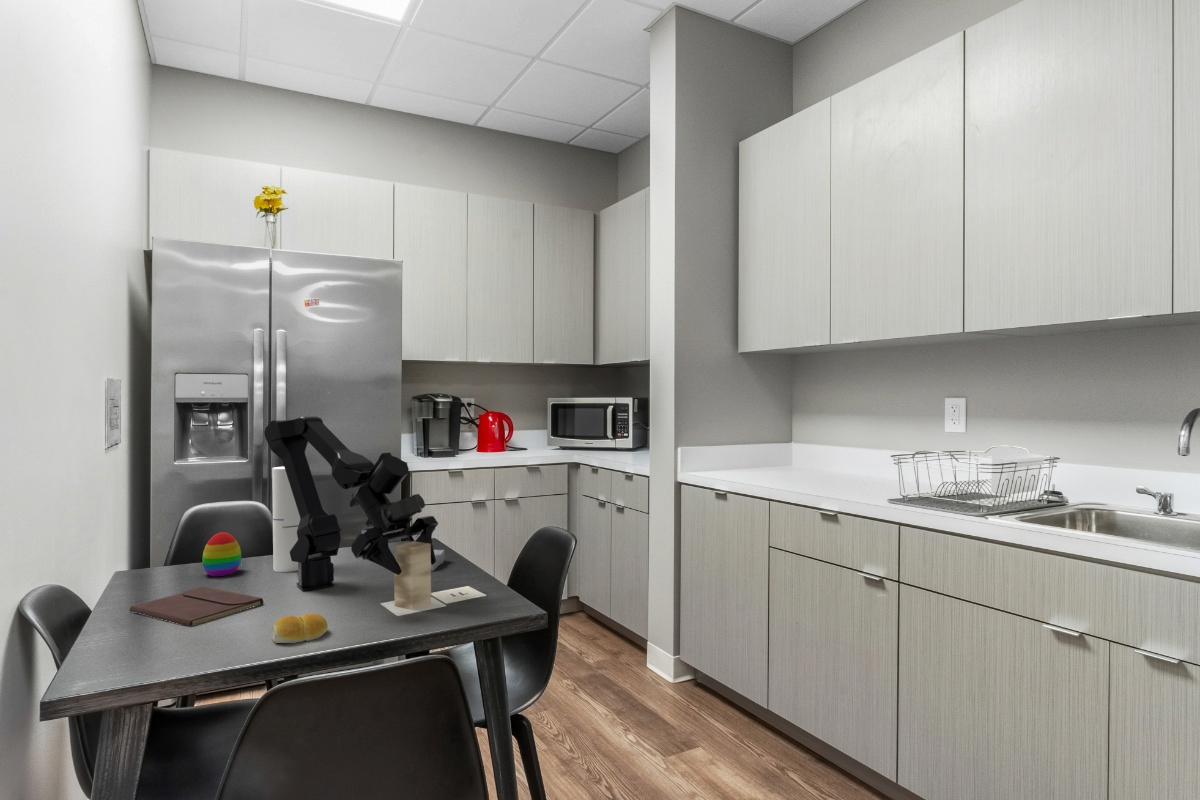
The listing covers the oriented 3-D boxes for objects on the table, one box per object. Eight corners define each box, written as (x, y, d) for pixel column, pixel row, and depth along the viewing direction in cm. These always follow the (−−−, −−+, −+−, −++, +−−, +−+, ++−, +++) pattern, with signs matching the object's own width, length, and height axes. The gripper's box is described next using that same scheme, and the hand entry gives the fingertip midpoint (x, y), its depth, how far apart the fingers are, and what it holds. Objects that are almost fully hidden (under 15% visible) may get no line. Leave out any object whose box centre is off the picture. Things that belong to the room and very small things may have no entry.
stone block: (395, 581, 160) (436, 572, 160) (391, 561, 160) (432, 552, 160) (410, 570, 172) (448, 562, 172) (407, 551, 172) (444, 543, 172)
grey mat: (397, 617, 127) (397, 616, 127) (380, 604, 135) (380, 603, 135) (446, 607, 133) (446, 605, 133) (427, 595, 141) (427, 594, 141)
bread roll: (332, 638, 117) (331, 615, 117) (275, 649, 112) (275, 625, 112) (322, 625, 124) (321, 603, 124) (268, 635, 119) (268, 612, 119)
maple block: (394, 606, 133) (393, 546, 133) (413, 599, 137) (412, 541, 137) (412, 610, 131) (412, 548, 131) (431, 603, 135) (430, 543, 135)
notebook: (189, 629, 123) (189, 618, 123) (129, 614, 132) (129, 604, 132) (263, 606, 136) (263, 596, 136) (204, 594, 146) (204, 585, 146)
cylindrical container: (284, 564, 170) (283, 465, 170) (311, 565, 169) (309, 466, 169) (267, 571, 163) (265, 468, 163) (294, 572, 162) (293, 469, 162)
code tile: (446, 605, 134) (446, 603, 134) (428, 594, 142) (428, 593, 142) (486, 596, 140) (486, 595, 140) (468, 587, 147) (468, 585, 147)
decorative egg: (220, 568, 166) (220, 528, 166) (249, 570, 165) (248, 529, 165) (194, 577, 158) (193, 535, 158) (224, 578, 157) (223, 536, 157)
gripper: (360, 488, 128) (402, 552, 122) (431, 477, 144) (470, 534, 138) (333, 525, 132) (372, 589, 126) (405, 511, 148) (443, 567, 142)
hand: (417, 568), depth 133 cm, fingers open, 9 cm apart
